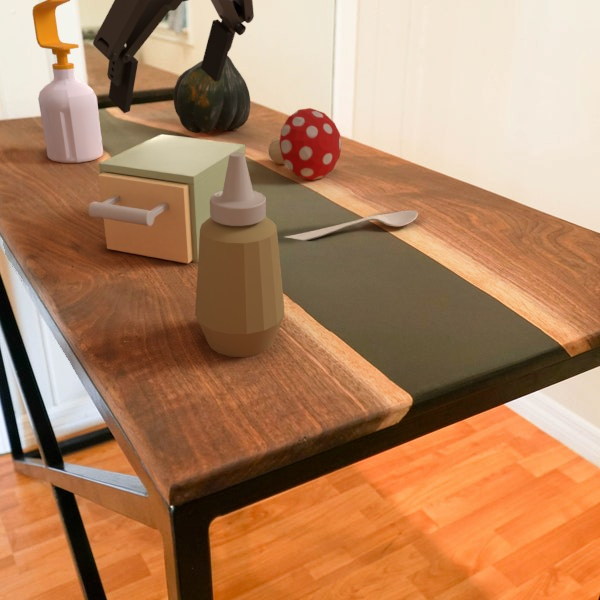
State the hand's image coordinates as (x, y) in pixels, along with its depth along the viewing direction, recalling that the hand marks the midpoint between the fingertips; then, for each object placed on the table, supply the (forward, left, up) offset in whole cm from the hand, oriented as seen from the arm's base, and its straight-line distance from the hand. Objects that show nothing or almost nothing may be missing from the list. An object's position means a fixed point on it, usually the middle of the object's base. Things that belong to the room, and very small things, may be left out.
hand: (167, 88), depth 76 cm
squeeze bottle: (+18, -22, -18) cm, 34 cm away
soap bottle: (-32, +22, -18) cm, 43 cm away
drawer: (+1, -6, -17) cm, 18 cm away
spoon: (+20, +8, -18) cm, 28 cm away
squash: (-19, +48, -18) cm, 55 cm away
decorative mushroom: (+6, +30, -18) cm, 36 cm away
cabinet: (+1, -2, -18) cm, 18 cm away
